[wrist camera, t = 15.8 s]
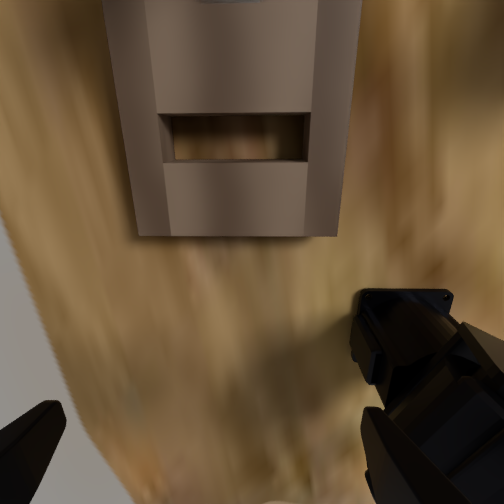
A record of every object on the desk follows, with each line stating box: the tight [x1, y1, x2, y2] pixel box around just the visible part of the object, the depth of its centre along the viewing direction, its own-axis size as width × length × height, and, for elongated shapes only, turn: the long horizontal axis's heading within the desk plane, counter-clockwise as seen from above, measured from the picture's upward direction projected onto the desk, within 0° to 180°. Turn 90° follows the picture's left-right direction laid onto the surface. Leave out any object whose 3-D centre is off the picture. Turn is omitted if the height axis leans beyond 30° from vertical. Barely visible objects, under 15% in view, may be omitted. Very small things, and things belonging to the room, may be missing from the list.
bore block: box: [102, 0, 362, 237], centre depth 15 cm, size 12×22×2 cm, turn 0°
